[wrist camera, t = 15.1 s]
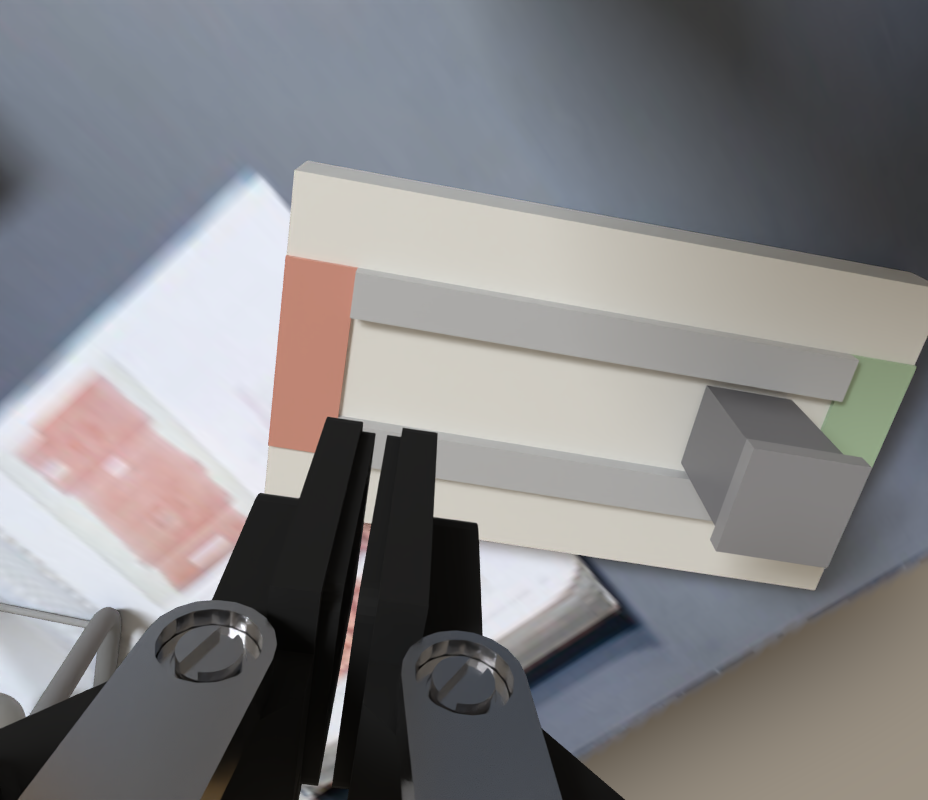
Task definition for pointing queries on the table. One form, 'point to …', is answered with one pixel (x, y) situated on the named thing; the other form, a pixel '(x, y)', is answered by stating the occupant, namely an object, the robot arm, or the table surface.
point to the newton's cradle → (71, 658)
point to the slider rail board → (567, 358)
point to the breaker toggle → (770, 478)
